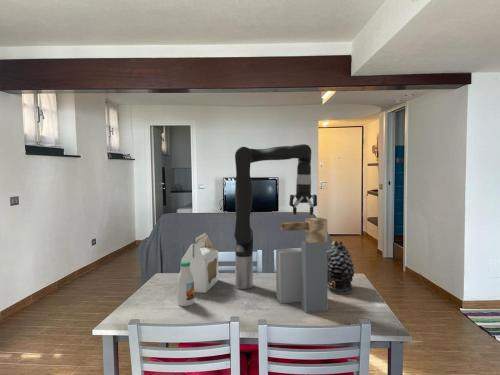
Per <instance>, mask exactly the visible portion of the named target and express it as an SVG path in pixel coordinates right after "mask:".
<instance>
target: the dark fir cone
mask: <svg viewBox="0 0 500 375" xmlns="http://www.w3.org/2000/svg"><path fill="white" fill-rule="evenodd" d="M352 260H353V259H352V255H351V253H350V252H349V251H348V249H347V247H346V246H345V245H343V242H342V241H339V242H338V241H337V240H333V241H332V242H331V247H330V248H329V249H328V250H327V285H328V290H329V291H330V292H332V293H333V294H338V295H339V294H340V295H343V294H349V293H351V292H352V290H353V287H352V282H353V278H354V277H355V275H354V274H355V271H354V269H355V267H354V265H355V264H354V262H353V261H352Z"/></svg>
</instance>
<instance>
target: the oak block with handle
mask: <svg viewBox="0 0 500 375" xmlns="http://www.w3.org/2000/svg"><path fill="white" fill-rule="evenodd" d="M280 231H284V232H285V231H286V232H287V231H305V239H304V240H306V241H308V242H310V243H315V242H327V243H328V218H325V217H305V221H297V222H293V221H292V222H280Z"/></svg>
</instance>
